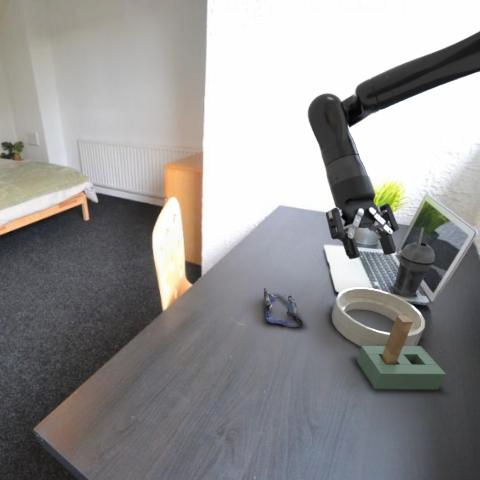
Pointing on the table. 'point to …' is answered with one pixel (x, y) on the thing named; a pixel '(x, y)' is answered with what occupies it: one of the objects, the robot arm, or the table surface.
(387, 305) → the cream ring
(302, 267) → the table surface
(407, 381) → the stick stand
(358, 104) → the robot arm
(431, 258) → the beverage cup
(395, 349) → the stirring stick
